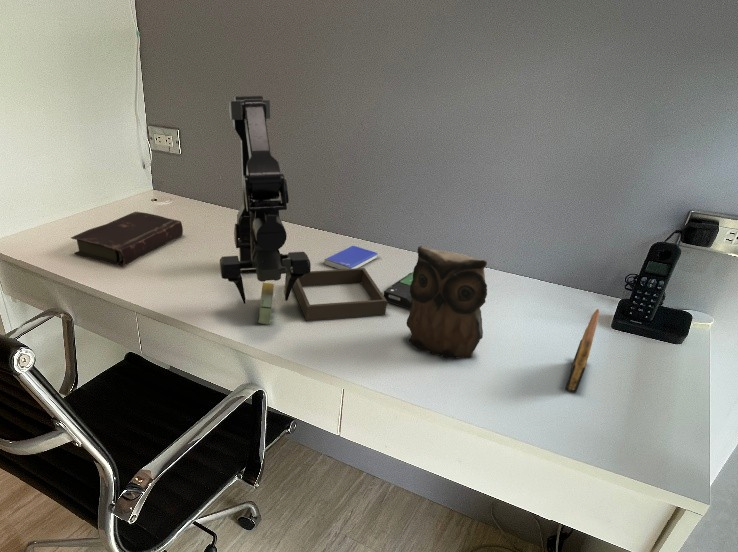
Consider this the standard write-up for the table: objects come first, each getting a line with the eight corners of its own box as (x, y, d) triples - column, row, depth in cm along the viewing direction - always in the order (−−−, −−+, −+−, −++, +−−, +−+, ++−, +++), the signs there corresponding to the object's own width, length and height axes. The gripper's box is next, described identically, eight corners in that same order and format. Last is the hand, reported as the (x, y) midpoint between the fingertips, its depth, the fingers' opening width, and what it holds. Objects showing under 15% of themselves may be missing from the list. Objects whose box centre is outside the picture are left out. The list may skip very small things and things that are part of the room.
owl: (479, 360, 109) (503, 263, 98) (415, 364, 108) (431, 266, 97) (456, 328, 120) (475, 236, 108) (397, 331, 119) (410, 239, 107)
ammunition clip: (573, 361, 109) (593, 305, 102) (583, 364, 108) (604, 308, 101) (564, 389, 101) (585, 331, 95) (576, 392, 101) (598, 334, 94)
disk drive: (423, 315, 125) (452, 290, 134) (425, 303, 123) (454, 280, 132) (381, 301, 130) (412, 279, 139) (383, 290, 128) (413, 268, 138)
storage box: (306, 321, 122) (307, 306, 120) (292, 285, 137) (292, 272, 135) (385, 315, 124) (387, 300, 122) (363, 281, 139) (364, 267, 137)
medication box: (270, 325, 121) (272, 308, 119) (257, 323, 121) (259, 307, 119) (272, 298, 131) (274, 282, 128) (260, 297, 131) (262, 281, 128)
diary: (184, 237, 163) (182, 220, 160) (125, 268, 145) (122, 249, 142) (134, 226, 170) (132, 209, 168) (72, 254, 153) (68, 236, 150)
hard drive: (350, 267, 142) (377, 252, 149) (324, 258, 146) (352, 244, 154) (350, 272, 143) (377, 258, 150) (324, 264, 147) (351, 250, 155)
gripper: (221, 250, 108) (225, 322, 117) (317, 244, 110) (314, 315, 119) (217, 229, 117) (221, 298, 126) (306, 224, 119) (304, 292, 128)
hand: (265, 301), depth 125 cm, fingers open, 9 cm apart
